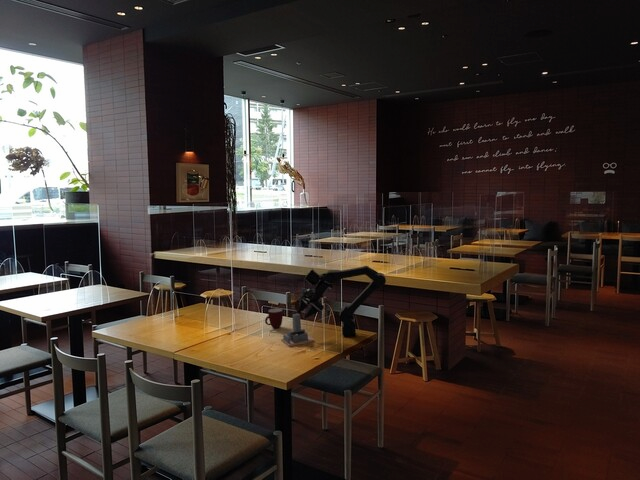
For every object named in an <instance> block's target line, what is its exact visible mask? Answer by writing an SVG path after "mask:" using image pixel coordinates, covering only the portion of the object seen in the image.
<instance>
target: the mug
mask: <svg viewBox="0 0 640 480" xmlns="http://www.w3.org/2000/svg"><path fill="white" fill-rule="evenodd" d="M267 310H268V312H267V316H266V317H265V318H264V319H265V320H264V322H265V324H266V325H267V326H271V328H272V329H274V330H279V329H280V328H281V326H282V323H283V317H284V315H283V314H284V313H283V312H284V311H283V309H282V308H280V307H279V308H276V307H275V308H270V309H267ZM268 320H269V323H268Z"/></svg>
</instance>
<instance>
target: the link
mask: <svg viewBox="0 0 640 480" xmlns="http://www.w3.org/2000/svg"><path fill="white" fill-rule="evenodd" d="M291 316H292V330H291V331H287V332H286V335H287V336H289V337H290V341H291V342H293V343H297V342H302V341H306V340H308V336H309V334H308V332H306V329H305V328H302V325H301V314H300V313H299V314H298V313H297V312H296V313H293V314H292V315H291ZM297 334H298V335H297Z"/></svg>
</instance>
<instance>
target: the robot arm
mask: <svg viewBox="0 0 640 480" xmlns="http://www.w3.org/2000/svg"><path fill="white" fill-rule="evenodd" d="M363 275H364V276H367V277H368V278H369V279H370V280H371V281H370V283H369V284H368V285H367V286H366V287H365V288H364V289H363V291H362V292H361V293H360V294H359V295H358V296H356V298H355V299H354V300H353V301H352V302H351V303H350V304H347V303H345V304H344V305H343V307H342V308H340V312H339V317H338V318H339V321H340V322H342V325H341V334H342V336H343V337H344V338H349V337H350V338H352V337H353V338H356V337H357V334H356V322H355V320H356V319H355V316H354V314H355V312H356V311H357V310H358V308H359V307H361V306H362V304H363V303H365V301H366V300H367V299H368V298H369V297H370V296H371V295H373V293H374V292H375V291H377V290H379V289H381V288H382V287H383V286H384V285H386V282H387V279H386V276H385V274H384V273H382V272H378V271H377V270H375V269H374V268H371V267H370V266H369V265H364V266H360V267H353V268H348V269H343V270H342V269H340V270H339V269H329V270H327V271H326V272H324V273H320V274H319V273H318V272H317V271H315V270H314V268H312V269H311V270H309V272H308V273H307V274H306V275H305V277H304V278H303V280H305V281H306V282H307V283H308V284H310V285H311V286H314V288H308V289H307V288H304V287H301V289H300V292H299V296H298V301H299V304H298V305H299V306H298V308H297V310H296V314H297V313H298V314H300V313H301V312H303V311H304V310H306V308H308V307H309V308H308V310H307V311H306V313H305V315H304V319H307V318H309V317H311V316H314V315H315V314H317V313H320V312H323V310H324V309H325V306H324V304H322V303H321V302H320V301H321V300H322V299H324V295H325V293H326V292H327V291H328V289H329V290H333V289H334V288H333V283H337V282H339V281H340V280H343V279H347V278H353V277H359V276H363Z"/></svg>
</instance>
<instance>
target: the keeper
mask: <svg viewBox="0 0 640 480" xmlns="http://www.w3.org/2000/svg"><path fill="white" fill-rule="evenodd" d="M297 335H298V334H297ZM282 337H283V338H281V340H280V341H281V342H282V343H283V344H285V345H286V346H287V347H289V348H290V347H294V346H299V345H304V344H309V343H313V342H315V339H314V338H313V337H311V336H310V335H308V340H306V341H302V342H297V343H293V342H291V341H290V337H289V336H287V333H283V335H282Z"/></svg>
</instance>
